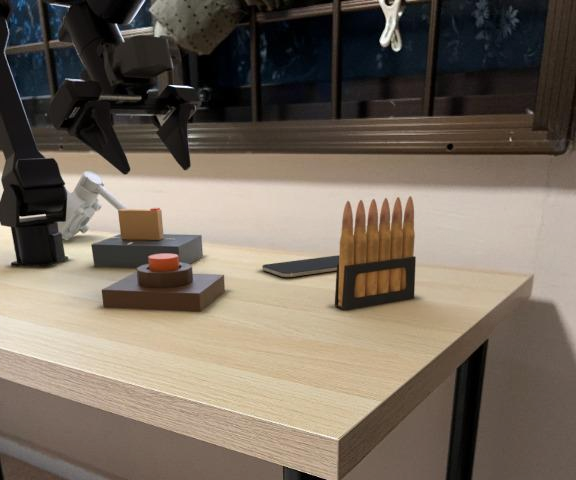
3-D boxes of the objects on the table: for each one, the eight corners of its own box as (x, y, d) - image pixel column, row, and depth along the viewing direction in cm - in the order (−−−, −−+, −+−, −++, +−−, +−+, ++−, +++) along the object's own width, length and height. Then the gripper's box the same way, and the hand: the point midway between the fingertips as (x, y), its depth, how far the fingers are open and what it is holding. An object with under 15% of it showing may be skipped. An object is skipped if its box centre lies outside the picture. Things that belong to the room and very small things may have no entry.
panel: (94, 267, 94) (90, 243, 93) (124, 254, 104) (122, 232, 103) (180, 269, 92) (178, 245, 90) (203, 256, 102) (201, 233, 100)
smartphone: (369, 262, 92) (285, 273, 84) (369, 266, 92) (285, 278, 85) (340, 254, 98) (259, 264, 90) (340, 259, 98) (259, 269, 90)
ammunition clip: (343, 310, 70) (345, 202, 65) (334, 306, 72) (336, 200, 67) (414, 297, 75) (421, 196, 70) (404, 294, 76) (411, 195, 72)
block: (121, 239, 96) (117, 208, 95) (125, 237, 98) (122, 207, 96) (159, 240, 95) (156, 209, 93) (164, 238, 97) (161, 207, 95)
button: (144, 273, 73) (143, 258, 72) (156, 267, 76) (154, 253, 75) (173, 274, 72) (172, 259, 71) (183, 267, 75) (182, 253, 75)
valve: (110, 293, 117) (148, 236, 110) (28, 223, 115) (61, 160, 108) (136, 278, 126) (172, 224, 118) (60, 213, 124) (93, 153, 116)
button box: (103, 307, 72) (99, 274, 70) (138, 288, 81) (135, 258, 80) (200, 312, 70) (198, 277, 68) (225, 291, 79) (223, 260, 77)
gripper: (59, -11, 61) (125, 131, 61) (197, 14, 74) (252, 130, 74) (21, 64, 69) (80, 189, 69) (152, 74, 82) (202, 179, 82)
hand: (159, 170), depth 73 cm, fingers open, 9 cm apart
